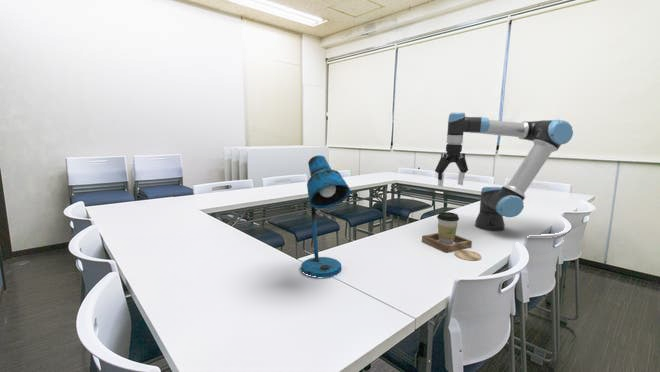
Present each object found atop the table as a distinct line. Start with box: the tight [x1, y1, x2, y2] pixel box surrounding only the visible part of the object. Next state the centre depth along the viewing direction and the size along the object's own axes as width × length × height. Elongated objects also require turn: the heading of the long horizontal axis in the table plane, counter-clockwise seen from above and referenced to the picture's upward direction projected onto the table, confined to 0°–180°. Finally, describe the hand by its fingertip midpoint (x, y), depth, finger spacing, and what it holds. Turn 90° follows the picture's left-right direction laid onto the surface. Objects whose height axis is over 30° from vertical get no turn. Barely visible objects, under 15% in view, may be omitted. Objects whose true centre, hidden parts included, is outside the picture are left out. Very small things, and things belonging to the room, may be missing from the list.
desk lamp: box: [300, 155, 351, 278], centre depth 122 cm, size 16×22×45 cm
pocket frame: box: [421, 232, 473, 254], centre depth 155 cm, size 16×16×3 cm
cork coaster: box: [454, 249, 482, 262], centre depth 142 cm, size 11×11×1 cm
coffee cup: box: [436, 211, 460, 245], centre depth 154 cm, size 10×10×15 cm
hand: (450, 185), depth 165 cm, fingers open, 13 cm apart
